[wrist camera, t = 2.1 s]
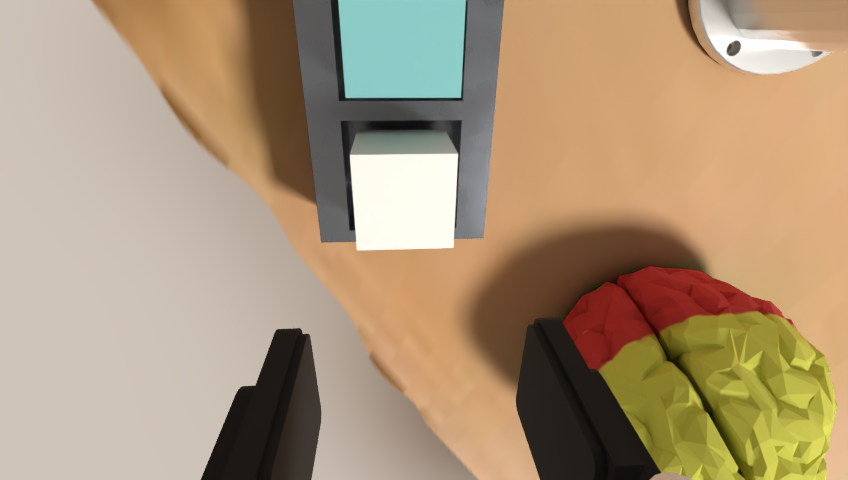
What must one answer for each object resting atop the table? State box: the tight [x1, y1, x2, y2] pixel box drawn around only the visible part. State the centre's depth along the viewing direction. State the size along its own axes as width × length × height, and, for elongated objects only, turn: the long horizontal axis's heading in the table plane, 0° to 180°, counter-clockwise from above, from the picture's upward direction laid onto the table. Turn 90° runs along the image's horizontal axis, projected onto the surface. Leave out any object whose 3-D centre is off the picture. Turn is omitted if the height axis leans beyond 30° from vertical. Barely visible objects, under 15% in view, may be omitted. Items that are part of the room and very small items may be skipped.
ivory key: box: [350, 129, 458, 250], centre depth 22 cm, size 5×5×5 cm
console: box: [293, 0, 504, 243], centre depth 22 cm, size 10×23×5 cm, turn 179°
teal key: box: [338, 0, 466, 98], centre depth 19 cm, size 5×5×5 cm
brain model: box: [562, 266, 837, 480], centre depth 32 cm, size 24×19×15 cm
